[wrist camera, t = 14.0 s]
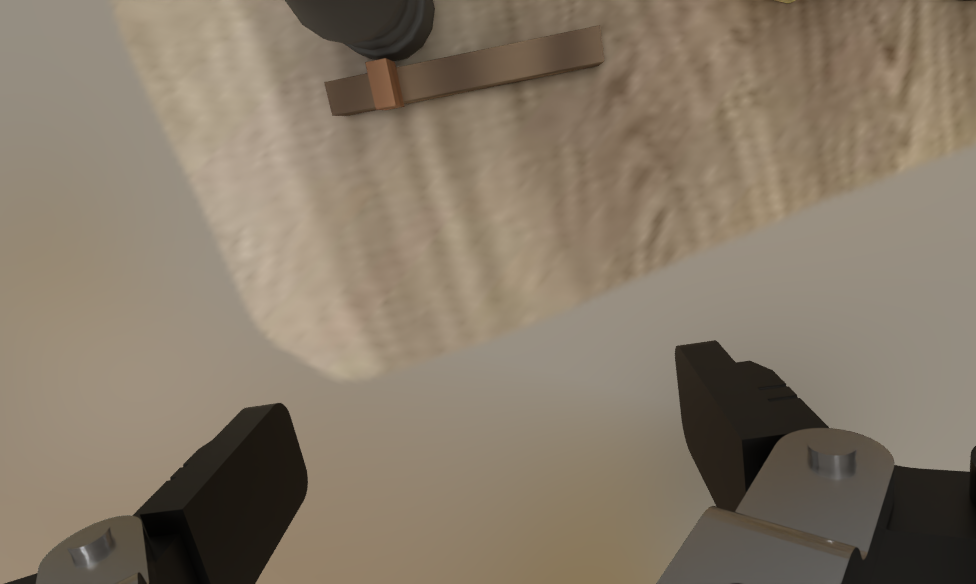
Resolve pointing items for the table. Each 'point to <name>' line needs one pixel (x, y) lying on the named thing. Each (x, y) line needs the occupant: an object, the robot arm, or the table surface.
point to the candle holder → (369, 24)
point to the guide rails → (464, 72)
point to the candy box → (786, 1)
